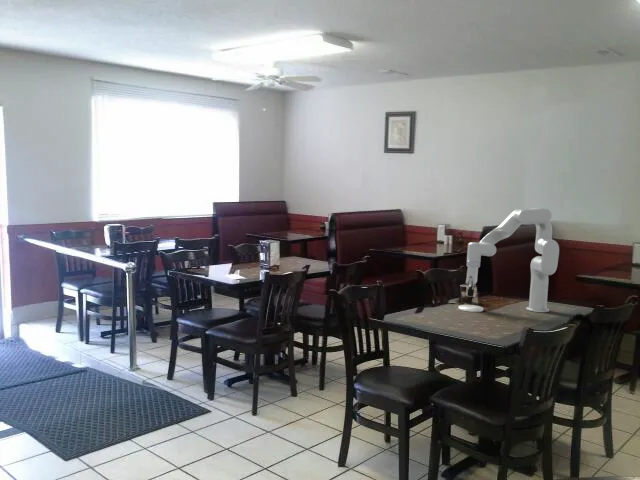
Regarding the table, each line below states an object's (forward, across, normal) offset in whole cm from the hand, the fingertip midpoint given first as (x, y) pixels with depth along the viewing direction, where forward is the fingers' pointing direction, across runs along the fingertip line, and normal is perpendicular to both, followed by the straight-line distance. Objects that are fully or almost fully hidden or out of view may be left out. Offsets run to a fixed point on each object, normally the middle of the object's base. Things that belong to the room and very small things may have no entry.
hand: (471, 295), depth 334 cm
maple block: (+1, 0, 0) cm, 1 cm away
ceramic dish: (+8, 0, 0) cm, 8 cm away
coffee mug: (+9, -20, -5) cm, 22 cm away
